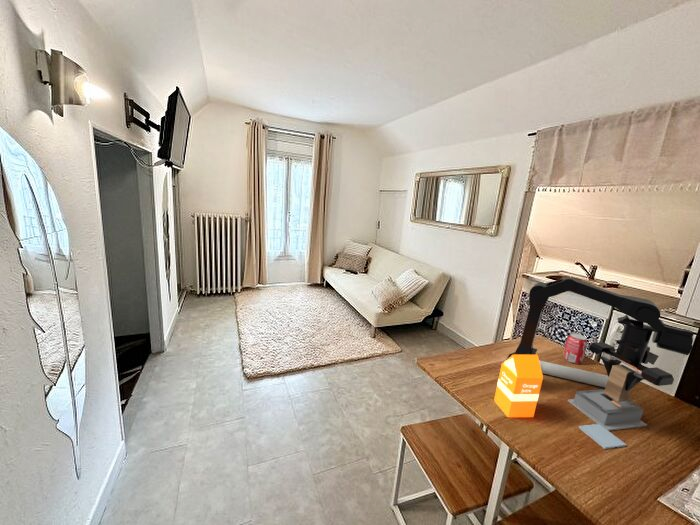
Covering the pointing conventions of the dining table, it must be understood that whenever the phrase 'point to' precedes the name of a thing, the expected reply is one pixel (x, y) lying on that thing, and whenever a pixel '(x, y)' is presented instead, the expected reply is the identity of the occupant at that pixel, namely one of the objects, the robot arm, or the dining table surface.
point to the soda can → (575, 348)
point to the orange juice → (519, 385)
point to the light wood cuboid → (618, 383)
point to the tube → (574, 374)
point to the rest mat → (602, 436)
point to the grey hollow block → (608, 410)
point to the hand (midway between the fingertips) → (619, 385)
